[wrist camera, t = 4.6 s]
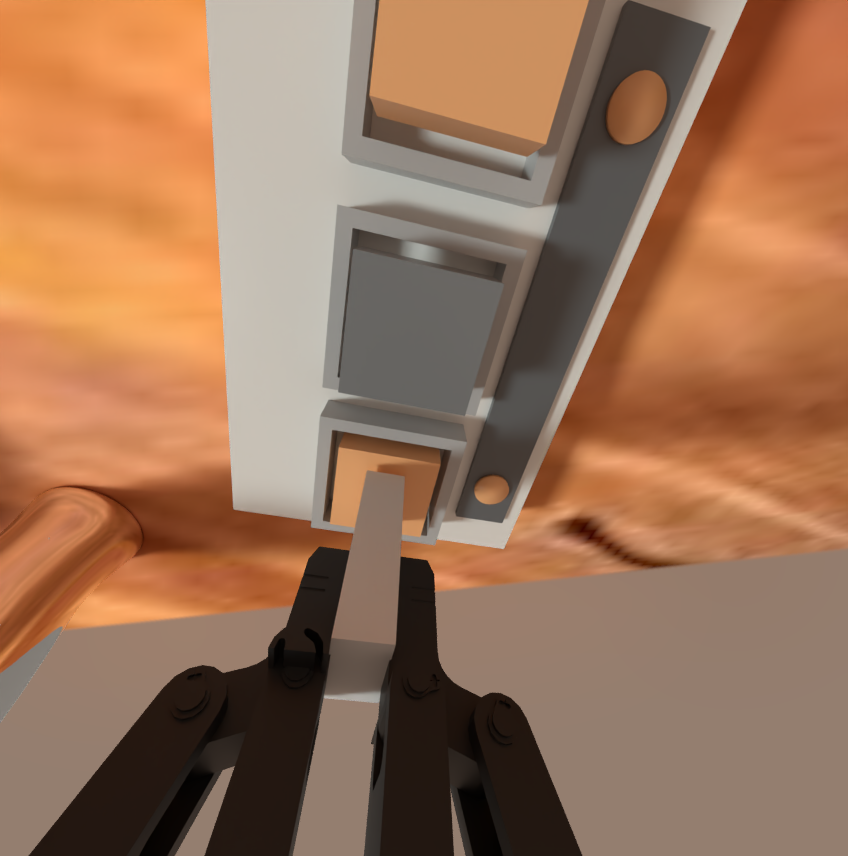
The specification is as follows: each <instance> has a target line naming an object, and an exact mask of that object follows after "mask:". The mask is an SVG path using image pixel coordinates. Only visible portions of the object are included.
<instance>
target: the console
mask: <svg viewBox="0 0 848 856" xmlns="http://www.w3.org/2000/svg"><path fill="white" fill-rule="evenodd" d="M746 2H747V0H589V2H588V5H587V8H586V12H585V15H584V18H583V22H582V25H581V28H580V32H579V35H578V39H577V42H576V45H575V49H574V52H573V55H572V59H571V62H570V65H569V69H568V72H567V75H566V79H565V82H564V86H563V89H562V92H561V96H560V99H559V102H558V106H557V109H556V112H555V116H554V119H553V122H552V126H551V129H550V133H549V136H548V139H547V143H546V145H544V146H543V147H541V148H540V149H539V150H537V151H536V152H534V153H533V154H531V155H530V156H528V157H525V156H521V155H518V154H514V153H510V152H507V151H503V150H500V149H496V148H492V147H489V146H485V145H481V144H478V143H474V142H470V141H467V140H463V139H459V138H456V137H452V136H448V135H445V134H441V133H437V132H434V131H430V130H426V129H423V128H419V127H415V126H412V125H408V124H404V123H401V122H397V121H393V120H390V119H386V118H382V117H379V116H377V115H376V112H375V109H374V106H373V104H372V101H371V98H370V96H369V94H370V85H371V75H372V66H373V56H374V47H375V37H376V28H377V18H378V9H379V0H206V18H207V37H208V55H209V73H210V92H211V110H212V128H213V146H214V165H215V183H216V201H217V220H218V238H219V256H220V274H221V293H222V311H223V329H224V347H225V366H226V384H227V402H228V421H229V439H230V457H231V475H232V494H233V510H239V511H246V512H253V513H260V514H267V515H274V516H281V517H288V518H294V519H301V520H308V521H311V528H318V529H325V530H332V531H339V532H346V533H353V534H354V529H355V528H354V527H347V526H340V525H333V524H330V519H331V510H332V501H333V493H334V484H335V475H336V467H337V458H338V449H339V445H340V442H341V440H342V437H343V434H344V432H348V433H354V434H360V435H365V436H371V437H377V438H383V439H388V440H394V441H400V442H406V443H411V444H417V445H423V446H428V447H434V448H439V451H440V462H441V465H440V469H439V472H438V476H437V479H436V483H435V486H434V490H433V494H432V497H431V501H430V504H429V508H428V511H427V515H426V518H425V522H424V525H423V529H422V533H421V536H420V537H416V536H409V535H402V538H401V540H402V541H409V542H416V543H423V544H430V545H435V543H436V540H437V539H439V540H446V541H453V542H459V543H466V544H473V545H480V546H487V547H494V548H501V549H504V547H505V545H506V543H507V541H508V538H509V536H510V534H511V532H512V529H513V527H514V525H515V523H516V520H517V518H518V516H519V514H520V511H521V509H522V507H523V505H524V502H525V500H526V498H527V496H528V493H529V491H530V489H531V487H532V484H533V482H534V480H535V478H536V475H537V473H538V471H539V469H540V466H541V464H542V462H543V460H544V457H545V455H546V453H547V451H548V448H549V446H550V444H551V442H552V439H553V437H554V435H555V432H556V430H557V428H558V426H559V423H560V421H561V419H562V417H563V414H564V412H565V410H566V408H567V405H568V403H569V401H570V399H571V396H572V394H573V392H574V390H575V387H576V385H577V383H578V381H579V378H580V376H581V374H582V372H583V369H584V367H585V365H586V363H587V360H588V358H589V356H590V354H591V351H592V349H593V347H594V345H595V342H596V340H597V338H598V336H599V333H600V331H601V329H602V327H603V324H604V322H605V320H606V318H607V315H608V313H609V311H610V309H611V306H612V304H613V302H614V299H615V297H616V295H617V293H618V290H619V288H620V286H621V284H622V281H623V279H624V277H625V275H626V272H627V270H628V268H629V266H630V263H631V261H632V259H633V257H634V254H635V252H636V250H637V248H638V245H639V243H640V241H641V239H642V236H643V234H644V232H645V230H646V227H647V225H648V223H649V221H650V218H651V216H652V214H653V212H654V209H655V207H656V205H657V203H658V200H659V198H660V196H661V194H662V191H663V189H664V187H665V185H666V182H667V180H668V178H669V176H670V173H671V171H672V169H673V166H674V164H675V162H676V160H677V157H678V155H679V153H680V151H681V148H682V146H683V144H684V142H685V139H686V137H687V135H688V133H689V130H690V128H691V126H692V124H693V121H694V119H695V117H696V115H697V112H698V110H699V108H700V106H701V103H702V101H703V99H704V97H705V94H706V92H707V90H708V88H709V85H710V83H711V81H712V79H713V76H714V74H715V72H716V70H717V67H718V65H719V63H720V61H721V58H722V56H723V54H724V52H725V49H726V47H727V45H728V43H729V40H730V38H731V36H732V33H733V31H734V29H735V27H736V24H737V22H738V20H739V18H740V15H741V13H742V11H743V9H744V6H745V4H746ZM362 246H363V247H367V248H371V249H376V250H380V251H384V252H388V253H393V254H397V255H401V256H406V257H410V258H414V259H419V260H423V261H427V262H432V263H436V264H440V265H445V266H449V267H453V268H457V269H462V270H466V271H470V272H475V273H479V274H483V275H488V276H492V277H495V278H496V279H498V280H499V281H501V282H502V283H504V287H503V290H502V294H501V297H500V300H499V304H498V307H497V310H496V314H495V317H494V320H493V324H492V327H491V331H490V334H489V337H488V341H487V344H486V347H485V351H484V354H483V357H482V361H481V364H480V367H479V371H478V374H477V377H476V381H475V384H474V388H473V391H472V394H471V398H470V401H469V404H468V408H467V411H466V414H465V416H463V415H457V414H452V413H446V412H441V411H436V410H430V409H425V408H419V407H414V406H409V405H403V404H398V403H393V402H387V401H382V400H376V399H371V398H366V397H360V396H355V395H349V394H344V393H339V392H338V389H339V379H340V370H341V360H342V351H343V341H344V332H345V322H346V313H347V303H348V294H349V284H350V275H351V265H352V256H353V249H355V248H358V247H362Z"/></svg>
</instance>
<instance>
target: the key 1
mask: <svg viewBox="0 0 848 856" xmlns="http://www.w3.org/2000/svg"><path fill="white" fill-rule="evenodd" d="M440 465H441V462H440V451H439V448H434V447H428V446H423V445H417V444H411V443H406V442H400V441H394V440H388V439H383V438H377V437H371V436H365V435H360V434H354V433H348V432H344V434H343V437H342V440H341V442H340V445H339V449H338V458H337V467H336V475H335V484H334V493H333V501H332V510H331V519H330V524H333V525H340V526H347V527H354V528H355V524H356V520H357V515H358V510H359V505H360V501H361V496H362V491H363V487H364V482H365V477H366V473H367V470H369V471H375V472H381V473H388V474H394V475H400V476H405V484H404V502H403V520H402V535H409V536H416V537H420V536H421V533H422V529H423V525H424V522H425V518H426V515H427V511H428V508H429V504H430V501H431V497H432V494H433V490H434V486H435V483H436V479H437V476H438V472H439V469H440Z"/></svg>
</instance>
